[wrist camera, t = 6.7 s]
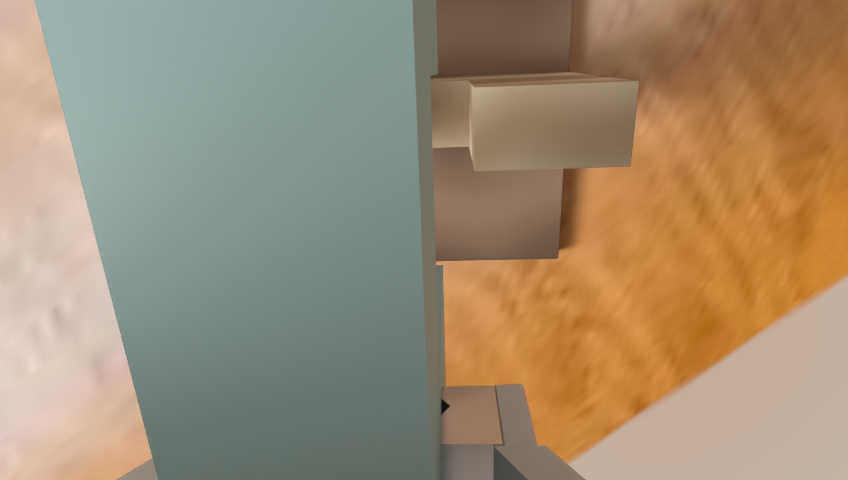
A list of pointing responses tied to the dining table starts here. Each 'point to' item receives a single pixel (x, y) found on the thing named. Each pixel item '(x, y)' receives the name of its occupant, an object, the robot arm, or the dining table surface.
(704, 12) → the dining table surface
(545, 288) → the dining table surface
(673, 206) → the dining table surface
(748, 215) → the dining table surface
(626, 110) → the stand
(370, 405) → the green arch block
